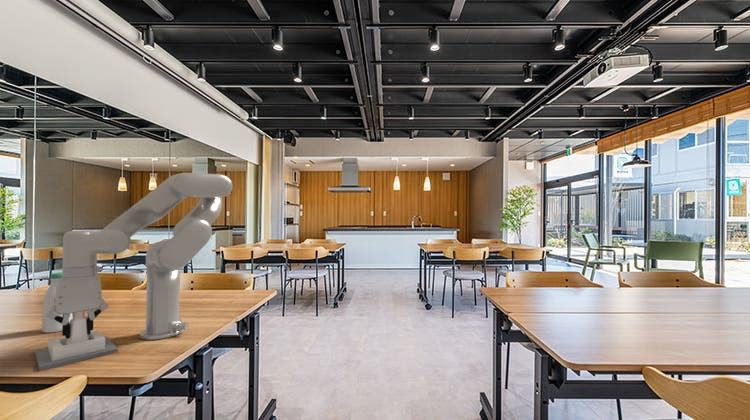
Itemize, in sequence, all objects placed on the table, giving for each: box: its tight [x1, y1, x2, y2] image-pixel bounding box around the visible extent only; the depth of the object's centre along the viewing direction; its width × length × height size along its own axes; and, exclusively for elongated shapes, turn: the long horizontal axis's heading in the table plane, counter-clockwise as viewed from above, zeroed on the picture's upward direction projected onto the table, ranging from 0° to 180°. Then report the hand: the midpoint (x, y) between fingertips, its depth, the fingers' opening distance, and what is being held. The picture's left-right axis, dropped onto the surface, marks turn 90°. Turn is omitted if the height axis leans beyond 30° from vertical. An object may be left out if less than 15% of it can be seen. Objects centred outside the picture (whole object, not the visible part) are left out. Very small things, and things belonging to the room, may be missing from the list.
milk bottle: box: [41, 271, 73, 333], centre depth 115 cm, size 8×8×20 cm
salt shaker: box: [66, 311, 89, 345], centre depth 95 cm, size 5×5×11 cm
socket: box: [34, 329, 119, 372], centre depth 94 cm, size 16×16×4 cm
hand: (77, 334), depth 95 cm, fingers closed on salt shaker, 3 cm apart
